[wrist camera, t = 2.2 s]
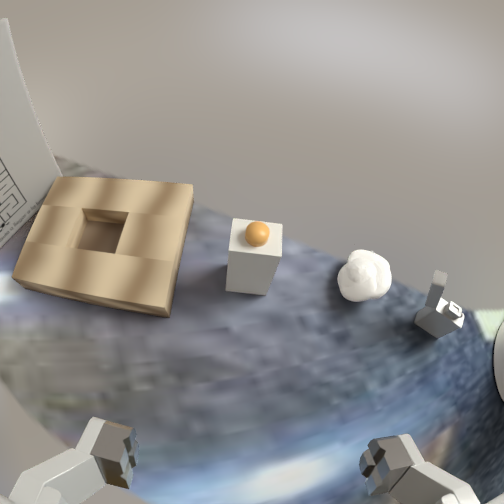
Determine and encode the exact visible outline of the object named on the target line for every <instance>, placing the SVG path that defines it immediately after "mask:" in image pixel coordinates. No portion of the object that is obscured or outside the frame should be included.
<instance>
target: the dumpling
mask: <svg viewBox="0 0 504 504" xmlns="http://www.w3.org/2000/svg"><path fill="white" fill-rule="evenodd" d="M347 261H348V262H347V264H346V265H344V266H343V267H342V268H341V270H340V271H339V274H338V278H337V280H338V285H339V288H340V291H341V294H342V296H343V297H344V298H346V299H347V300H350V301H354V302H360V301H365V300H367V299H378V298H380V297H382V296H383V295H384V294H385V293H386V292H387V291H388V289H389V288H390V285H391V272H390V270H389V269H390V266H389V263H388V262H387V261H386V260H385V259H384V258H383V257H381V256H379V255H377V254H375V253H374V252H373V251H372V252H370V251H365V250H356V251H353V252H352V253H350V256H349V257H348V260H347Z"/></svg>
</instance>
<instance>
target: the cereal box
mask: <svg viewBox="0 0 504 504" xmlns="http://www.w3.org/2000/svg"><path fill="white" fill-rule="evenodd" d="M57 177H63V175H62V173H61V171H60V169H59V167H58V164H57V162H56V160H55V158H54V156H53V153H52V151H51V149H50V147H49V144H48V142H47V140H46V137H45V135H44V132H43V130H42V128H41V125H40V123H39V120H38V118H37V115H36V112H35V110H34V107H33V104H32V101H31V99H30V96H29V93H28V90H27V87H26V84H25V81H24V78H23V75H22V72H21V68H20V65H19V62H18V58H17V55H16V51H15V47H14V44H13V40H12V36H11V32H10V27H9V23H8V19H7V18H3V19H0V249H1V248H2V246H3V245H4V244H5V243H6V242H7V241H8V240H9V239H10V238H11V237H12V236H13V235H14V234H15V233H16V232H17V231H18V230H19V229H20V228H21V227H22V226H23V225H24V224H25V223H26V222H27V221H28V220H29V219H30V218H31V217H32V216H33V215H34V214H35V213H36V212H37V211H39V210H40V208H41V206H42V204H43V202H44V200H45V198H46V196H47V194H48V193H49V191H50V189H51V187H52V185H53V183H54V181H55V180H56V178H57Z"/></svg>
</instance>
